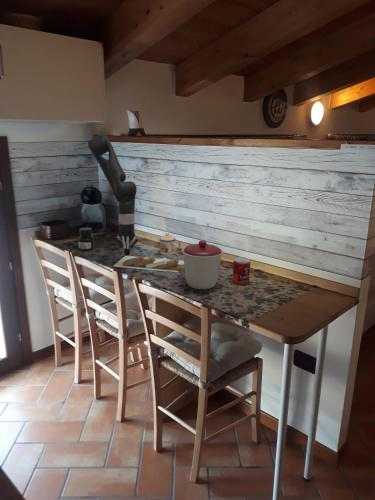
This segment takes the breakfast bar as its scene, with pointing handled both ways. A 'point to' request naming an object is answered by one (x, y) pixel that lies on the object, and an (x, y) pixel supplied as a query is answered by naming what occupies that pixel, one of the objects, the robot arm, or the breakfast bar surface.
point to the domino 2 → (146, 262)
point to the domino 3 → (157, 263)
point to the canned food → (241, 270)
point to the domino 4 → (169, 264)
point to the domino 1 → (133, 261)
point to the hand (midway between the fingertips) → (127, 255)
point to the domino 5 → (177, 268)
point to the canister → (202, 264)
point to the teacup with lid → (167, 245)
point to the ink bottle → (86, 239)
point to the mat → (120, 264)
